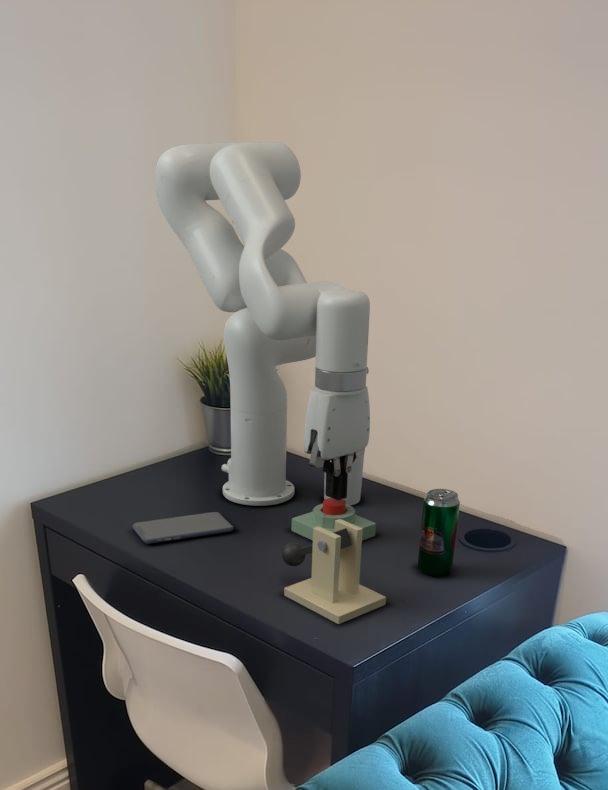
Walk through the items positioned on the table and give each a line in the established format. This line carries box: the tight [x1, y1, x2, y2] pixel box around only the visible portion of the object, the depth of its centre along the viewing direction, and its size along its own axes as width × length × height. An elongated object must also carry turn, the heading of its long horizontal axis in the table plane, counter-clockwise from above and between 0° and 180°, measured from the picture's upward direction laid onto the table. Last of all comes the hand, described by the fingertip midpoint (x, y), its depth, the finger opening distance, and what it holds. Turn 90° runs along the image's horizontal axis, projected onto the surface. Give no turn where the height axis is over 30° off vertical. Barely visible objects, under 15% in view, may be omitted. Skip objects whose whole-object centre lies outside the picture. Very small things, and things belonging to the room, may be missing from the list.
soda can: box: [417, 488, 461, 578], centre depth 140 cm, size 5×5×12 cm
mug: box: [323, 453, 365, 506], centre depth 166 cm, size 10×7×12 cm, turn 13°
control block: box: [291, 503, 377, 542], centre depth 154 cm, size 10×9×4 cm
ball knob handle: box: [281, 528, 352, 567], centre depth 135 cm, size 13×3×3 cm
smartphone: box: [131, 511, 234, 545], centre depth 156 cm, size 8×1×15 cm
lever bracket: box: [283, 519, 387, 625], centre depth 132 cm, size 11×9×11 cm
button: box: [322, 498, 346, 515], centre depth 153 cm, size 4×4×2 cm
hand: (336, 496), depth 152 cm, fingers closed
